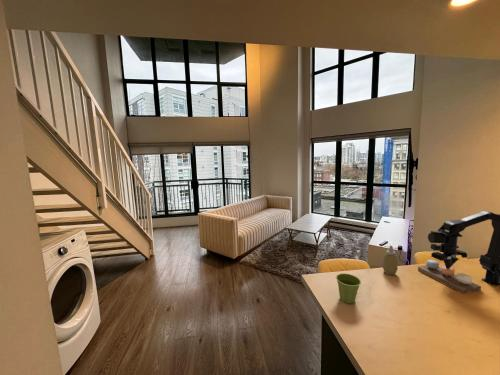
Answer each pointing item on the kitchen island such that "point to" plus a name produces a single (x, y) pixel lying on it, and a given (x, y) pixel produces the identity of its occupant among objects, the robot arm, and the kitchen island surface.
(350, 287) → the plant pot
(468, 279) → the cream white rounded ball
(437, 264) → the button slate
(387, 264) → the squeeze bottle
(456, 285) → the button board
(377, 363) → the kitchen island surface
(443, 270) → the peach rounded lump
